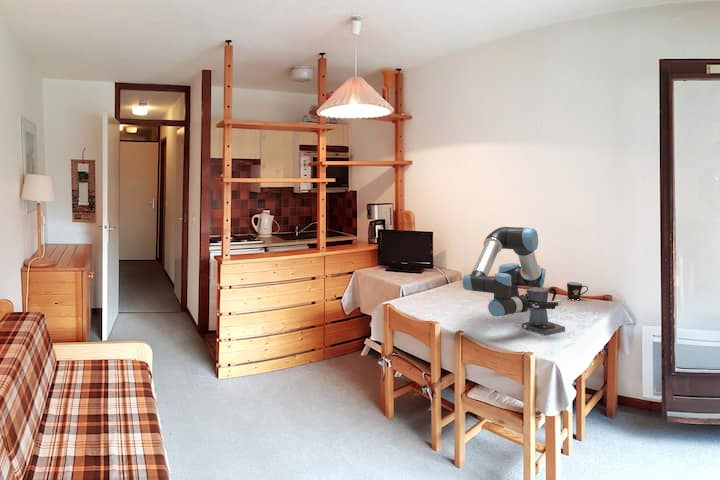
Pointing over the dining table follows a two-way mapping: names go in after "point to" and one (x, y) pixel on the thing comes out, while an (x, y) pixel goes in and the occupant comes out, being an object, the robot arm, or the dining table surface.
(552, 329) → the hot plate
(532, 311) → the moka pot
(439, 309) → the dining table surface
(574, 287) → the coffee mug
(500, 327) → the dining table surface
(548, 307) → the robot arm
